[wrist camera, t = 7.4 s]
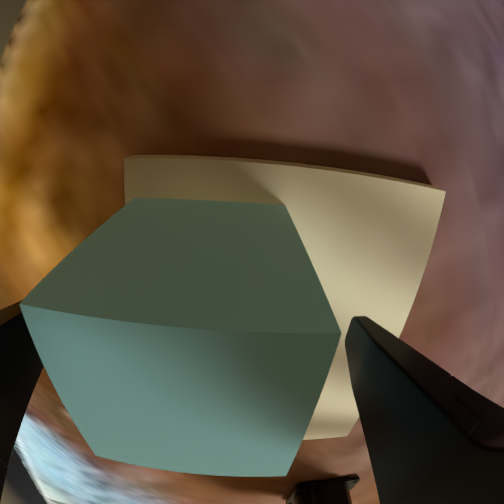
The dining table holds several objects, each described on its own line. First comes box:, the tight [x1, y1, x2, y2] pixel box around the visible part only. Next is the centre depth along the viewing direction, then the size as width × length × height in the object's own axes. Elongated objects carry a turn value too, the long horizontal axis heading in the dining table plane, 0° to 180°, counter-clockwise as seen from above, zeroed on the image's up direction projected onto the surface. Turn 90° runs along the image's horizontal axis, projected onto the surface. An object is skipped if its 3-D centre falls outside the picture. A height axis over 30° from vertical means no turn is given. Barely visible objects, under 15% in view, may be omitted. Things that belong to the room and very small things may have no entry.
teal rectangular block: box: [19, 198, 342, 477], centre depth 8 cm, size 5×5×7 cm
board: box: [124, 155, 446, 440], centre depth 13 cm, size 16×12×1 cm
